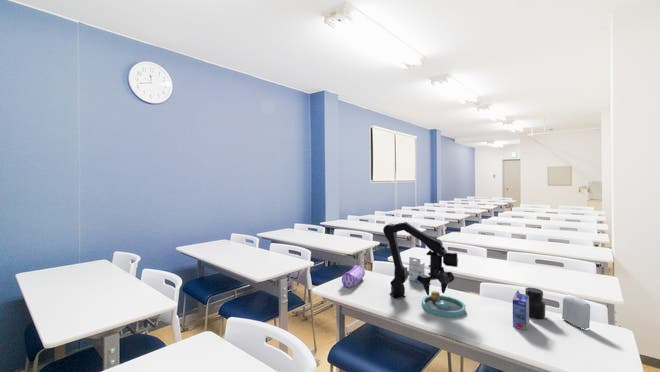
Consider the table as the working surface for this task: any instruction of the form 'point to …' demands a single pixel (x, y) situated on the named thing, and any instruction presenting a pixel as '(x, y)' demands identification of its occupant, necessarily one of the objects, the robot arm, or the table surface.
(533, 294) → the ink bottle
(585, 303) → the photo printer
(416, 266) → the ink box
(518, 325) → the ink cartridge box
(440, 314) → the round tray
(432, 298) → the wooden bead
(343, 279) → the pencil case
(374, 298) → the table surface
